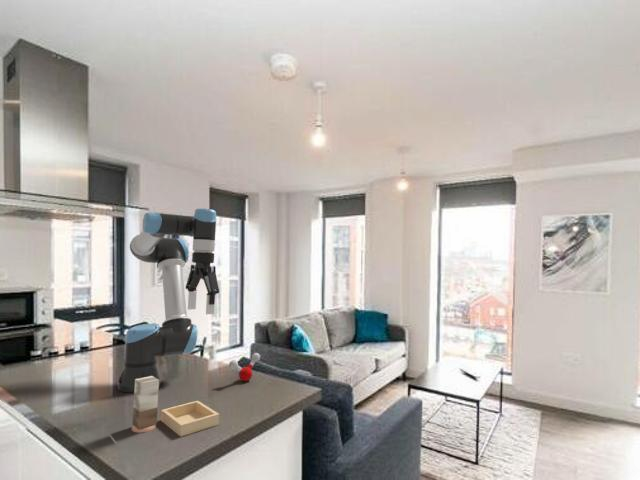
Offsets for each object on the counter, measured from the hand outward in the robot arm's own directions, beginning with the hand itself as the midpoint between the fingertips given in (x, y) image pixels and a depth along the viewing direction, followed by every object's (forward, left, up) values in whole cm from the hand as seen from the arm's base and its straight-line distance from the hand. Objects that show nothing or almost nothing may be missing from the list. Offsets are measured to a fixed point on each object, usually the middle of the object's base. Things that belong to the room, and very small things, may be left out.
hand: (200, 311), depth 132 cm
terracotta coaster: (-6, -22, -32) cm, 39 cm away
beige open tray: (+5, -16, -32) cm, 36 cm away
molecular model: (+10, +26, -32) cm, 42 cm away
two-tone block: (-6, -21, -30) cm, 38 cm away
